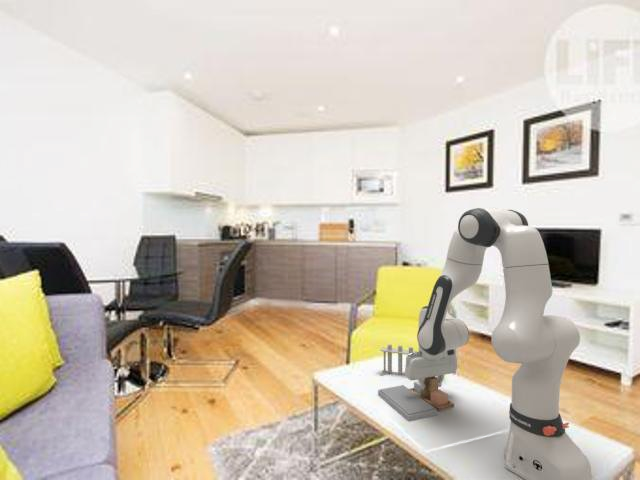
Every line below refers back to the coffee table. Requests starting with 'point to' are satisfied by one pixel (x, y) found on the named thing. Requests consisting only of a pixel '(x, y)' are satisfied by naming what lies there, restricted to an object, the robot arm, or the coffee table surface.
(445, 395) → the block
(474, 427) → the coffee table surface
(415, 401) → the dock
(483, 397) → the coffee table surface
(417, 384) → the pale blue cube
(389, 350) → the test tube rack
